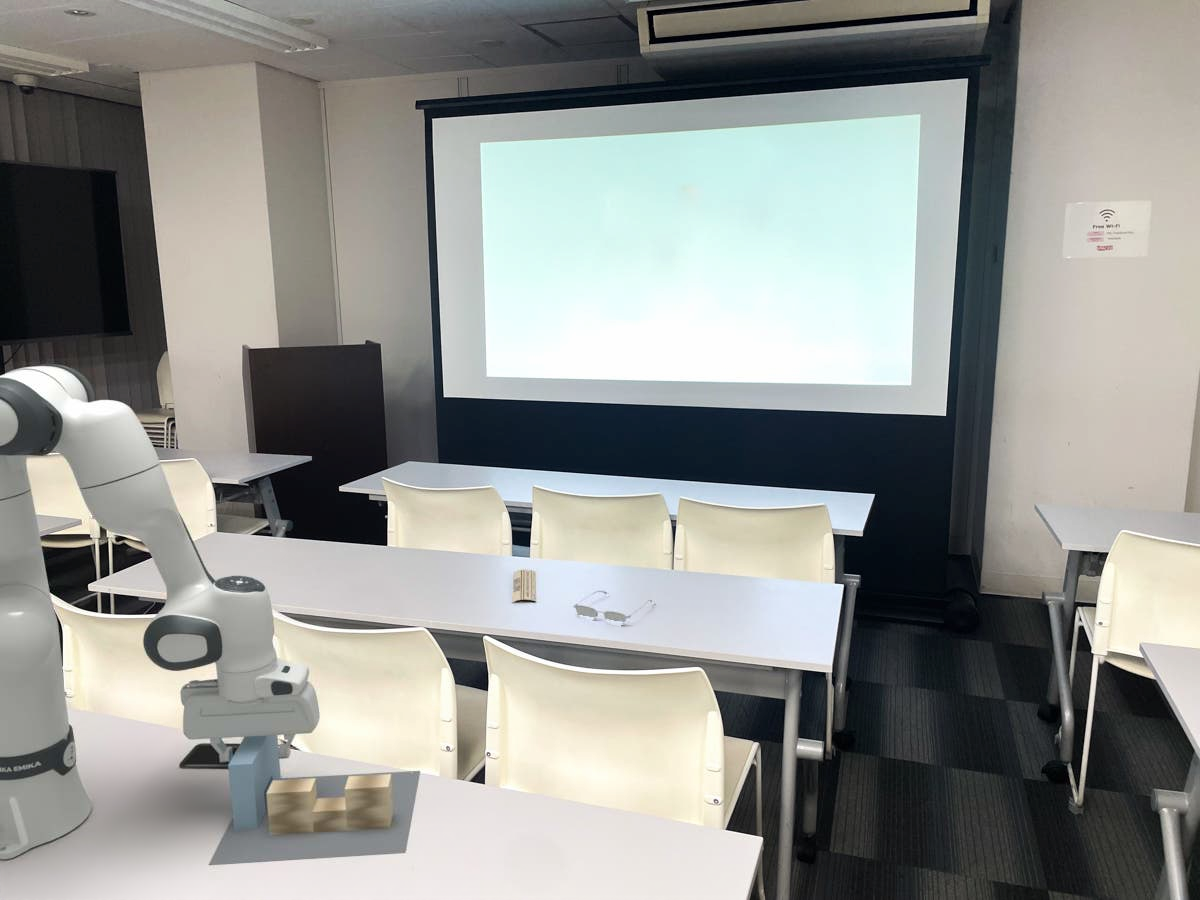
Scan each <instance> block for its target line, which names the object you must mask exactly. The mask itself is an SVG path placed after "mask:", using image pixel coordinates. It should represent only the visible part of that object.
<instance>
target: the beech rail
mask: <svg viewBox="0 0 1200 900" xmlns="http://www.w3.org/2000/svg"><path fill="white" fill-rule="evenodd" d="M266 795H267V807H268V819H269V831H270V835H281V834H298V833H315V832H331V831H348V830H365V829H381V828H390V827H391V823H392V818H393V799H392V780H391V774H384V775H366V776H349V777H348V780H347V783H346V786H345V797H337V798H319V799H317V790H316V778H310V779H292V780H273V781H272V783H271V785H270V787H269V789H268V791H267V793H266Z"/></svg>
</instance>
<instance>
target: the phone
mask: <svg viewBox="0 0 1200 900" xmlns="http://www.w3.org/2000/svg"><path fill="white" fill-rule="evenodd" d="M224 743H225V745H226V746H227V747H232V753H233V756H234V754H235V752H236V751H237V749H238V747H239V745H240V744H241V743H226V742H224ZM232 758H233V757H232ZM229 763H230V762H220V757H219V753H218V752H217V751H216V750H215V749H214V747H213V746H212V745H211V743H210V742H206V743H204V742H203V743H197V744H196V745H195V746H194V747H193V748H192V749H191V750H189V753H187V755H186V756H185V757H184V758H183V759H182V760H181V761H180V763H179V764H178V765H179V768H180V769H183V770H184V769H185V770H186V769H187V770H188V769H189V770H190V769H193V770H197V769H198V770H229V768H228V765H229Z"/></svg>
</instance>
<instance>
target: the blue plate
mask: <svg viewBox="0 0 1200 900" xmlns="http://www.w3.org/2000/svg"><path fill="white" fill-rule="evenodd" d="M278 736H279V735H268V736H249V737H242V738H243V739H242V741H241V742H240V743H239V744H240V745H239V747H238V749H237V751H236V752H235V754H234V756H233V758H232V759H231V761H230V763H229V765H228V768H229V769H228V776H229V777H228V779H229V787H230V788H229V789H230V801H231V809H232V818H233V823H234V830H250V829H258V827H259V825H260V823H261V821H262V819H263V816H264V814H265V812H266V810H265V798H264V794H266V793H267V791H268V789H269V787H270V785H271V783H272V781H273V780H280V779H281V778H282V776H281V774H282V773H281V763H280V759H279V757H278V756H279V754H278V749H279V738H278Z"/></svg>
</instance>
